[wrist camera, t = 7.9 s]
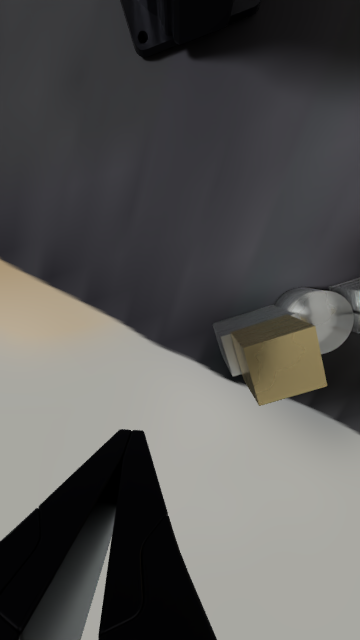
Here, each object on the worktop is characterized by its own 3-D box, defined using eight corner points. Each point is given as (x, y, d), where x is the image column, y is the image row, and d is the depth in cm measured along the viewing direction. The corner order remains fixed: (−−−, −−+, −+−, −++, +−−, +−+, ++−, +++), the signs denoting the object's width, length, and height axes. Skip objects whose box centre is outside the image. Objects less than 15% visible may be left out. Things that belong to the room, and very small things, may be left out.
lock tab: (243, 379, 12) (259, 405, 10) (230, 332, 12) (243, 347, 9) (298, 363, 12) (327, 386, 10) (287, 314, 12) (315, 325, 9)
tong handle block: (224, 364, 16) (235, 386, 13) (209, 314, 15) (217, 326, 12) (330, 332, 15) (366, 347, 12) (320, 279, 15) (356, 282, 12)
